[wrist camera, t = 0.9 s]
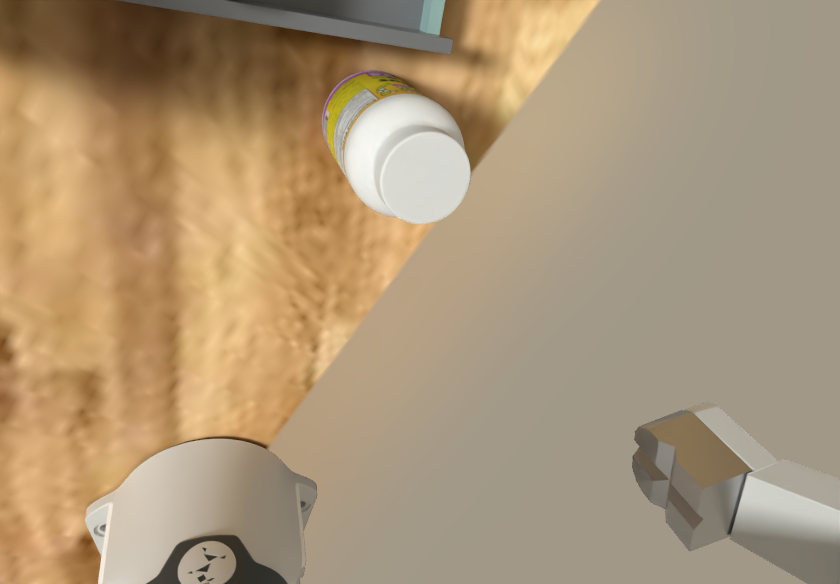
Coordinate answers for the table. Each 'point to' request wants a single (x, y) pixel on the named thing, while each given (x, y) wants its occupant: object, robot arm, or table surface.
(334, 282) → the table surface
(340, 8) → the pusher lane
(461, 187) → the supplement bottle
